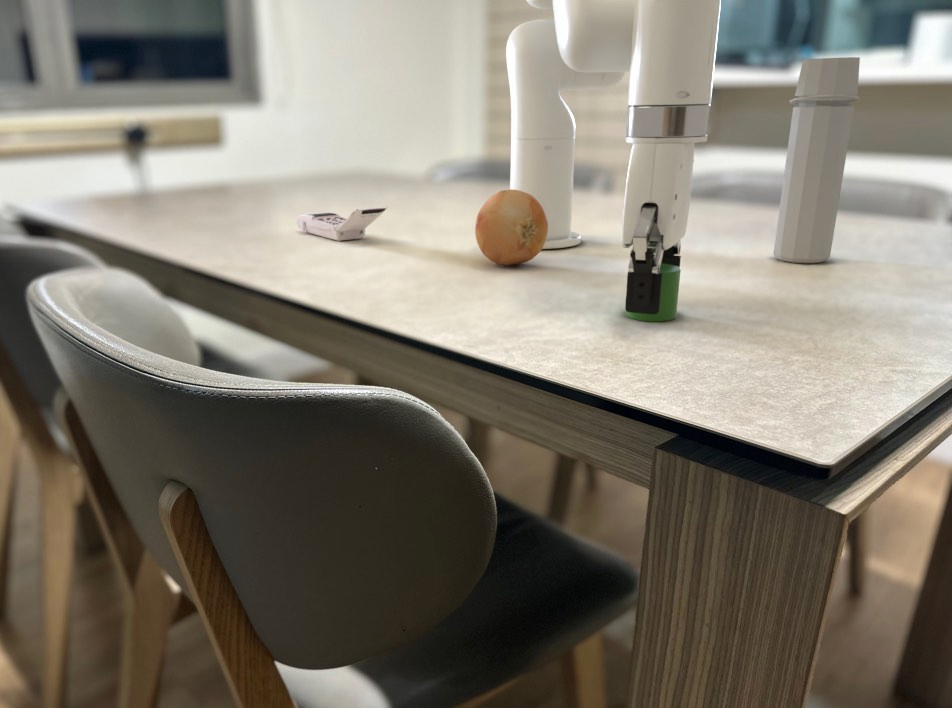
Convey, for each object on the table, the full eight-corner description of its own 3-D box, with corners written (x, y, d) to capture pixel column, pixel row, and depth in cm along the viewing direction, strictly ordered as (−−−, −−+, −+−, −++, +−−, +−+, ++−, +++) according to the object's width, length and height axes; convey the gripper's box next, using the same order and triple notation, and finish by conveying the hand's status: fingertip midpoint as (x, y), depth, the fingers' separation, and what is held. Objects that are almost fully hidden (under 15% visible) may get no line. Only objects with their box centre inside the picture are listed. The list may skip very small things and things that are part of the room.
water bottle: (840, 265, 105) (874, 56, 96) (775, 264, 106) (803, 58, 98) (821, 252, 113) (851, 59, 104) (761, 251, 115) (786, 61, 106)
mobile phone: (357, 209, 123) (287, 195, 143) (358, 248, 125) (289, 229, 145) (391, 206, 126) (317, 193, 146) (391, 244, 128) (319, 226, 148)
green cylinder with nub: (620, 318, 83) (624, 264, 81) (632, 307, 87) (636, 255, 85) (671, 323, 81) (676, 268, 79) (680, 312, 85) (685, 258, 83)
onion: (505, 275, 104) (506, 196, 100) (460, 264, 112) (460, 189, 108) (562, 266, 109) (565, 189, 105) (515, 255, 117) (516, 184, 113)
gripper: (646, 123, 86) (634, 282, 92) (604, 130, 71) (593, 318, 78) (720, 122, 83) (703, 287, 89) (692, 129, 68) (674, 326, 74)
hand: (652, 301), depth 83 cm, fingers open, 9 cm apart
